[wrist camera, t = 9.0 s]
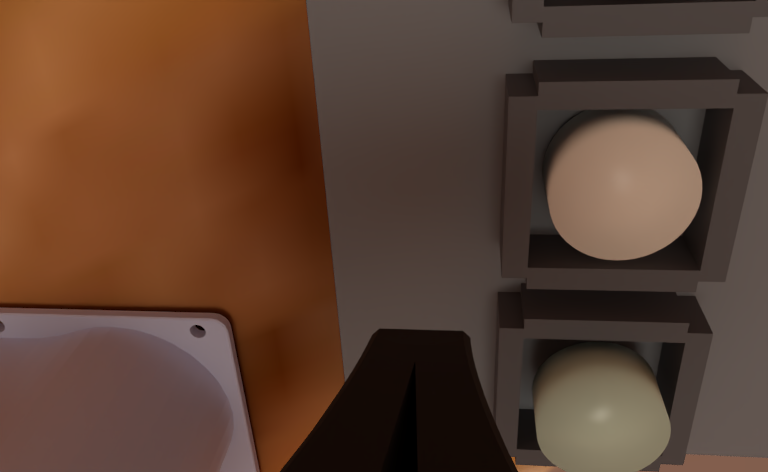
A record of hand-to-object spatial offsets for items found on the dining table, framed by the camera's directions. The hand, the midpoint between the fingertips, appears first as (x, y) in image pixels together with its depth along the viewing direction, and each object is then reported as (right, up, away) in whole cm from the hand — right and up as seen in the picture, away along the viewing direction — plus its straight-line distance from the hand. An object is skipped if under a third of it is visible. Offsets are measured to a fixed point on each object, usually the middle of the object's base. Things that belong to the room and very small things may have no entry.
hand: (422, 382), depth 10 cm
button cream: (+5, +4, +6) cm, 9 cm away
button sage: (+5, -2, +8) cm, 10 cm away
